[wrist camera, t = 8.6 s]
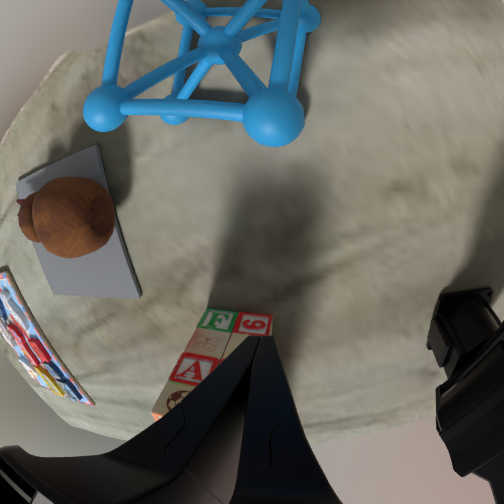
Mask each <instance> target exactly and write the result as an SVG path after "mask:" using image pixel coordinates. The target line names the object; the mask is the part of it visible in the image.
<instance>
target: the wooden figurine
mask: <svg viewBox="0 0 504 504" xmlns="http://www.w3.org/2000/svg"><path fill="white" fill-rule="evenodd" d="M17 203H18V204H20V205H21V207H20V210H19V213H18V216H19V218H18V219H19V226H20V228H21V230H22V232H23V234H24V235H25V236H26V237H27V238H28V239H29V240H31V241H33V242H36V243H42V245H43V246H44V247H45V249H46V250H47V251H48V252H50V253H52V254H54V255H56V256H59V257H62V258H70V259H71V258H77V257H81V256H84V255H87V254H90V253H93V252H95V251H97V250H98V249H100V248H101V247H103V246H104V245H106V244H107V242H108V241H109V239H110V238H111V236H112V234H113V231H114V227H115V207H114V204H113V201H112V198H111V196H110V194H109V193H108V191H107V189H106V188H105V187H103V186H102V185H101V184H99V183H98V182H96V181H95V180H93V179H90V178H85V177H71V176H69V177H59V178H55V179H53V180H51V181H48V182H47V183H45V184H44V185H43V186H42V187H41V188H40V190H39V191H37V192H34V193H32V194H30V195H28V196H27V197H26V199H18V200H17Z"/></svg>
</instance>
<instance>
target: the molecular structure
mask: <svg viewBox="0 0 504 504" xmlns="http://www.w3.org/2000/svg"><path fill="white" fill-rule="evenodd" d="M161 1H162V2H163V3H164V4H166V5H167V6H168V7H169V8H170V9H171V10H173V11H174V12H175V16H176V20H177V21H178V22H179V23H180V24H182V25H184V27H183V32H182V37H181V42H180V47H179V53H178V57H177V58H175V59H173V60H172V61H170V62H168V63H166V64H164V65H162V66H160V67H158V68H157V69H155V70H153V71H151V72H149V73H148V74H146V75H144V76H142V77H141V78H139V79H137V80H136V81H134V82H133V83H131V84H129V85H128V86H126V87H125V88H121V87H119V86H117V77H118V71H119V64H120V58H121V53H122V47H123V42H124V37H125V32H126V27H127V24H128V19H129V15H130V11H131V7H132V4H133V0H119V2H118V5H117V9H116V13H115V17H114V20H113V25H112V29H111V33H110V38H109V43H108V48H107V53H106V59H105V65H104V72H103V79H102V86H100V87H98V88H96V89H95V90H93V91H92V92H91V93H90V94H89V96H88V97H87V99H86V101H85V102H84V107H83V116H84V119H85V122H86V123H87V125H88V126H89V127H91V128H92V129H94V130H96V131H99V132H107V131H111V130H114V129H116V128H117V127H119V126H120V125H121V124H122V123H123V122H124V121H125V120H126V118H127V116H128V115H160V117H161V119H162V120H163V121H164V122H165V123H168V124H170V125H178V124H181V123H183V122H185V121H186V120H187V119H188V118H189V117H200V118H212V119H222V120H231V121H239V122H243V125H244V128H245V130H246V132H247V133H248V135H249V136H250V137H251V138H253V139H254V140H255V141H256V142H258V143H260V144H261V145H265V146H269V147H279V146H284V145H287V144H288V143H290V142H292V141H294V140H295V139H296V138H297V137H298V136H299V134H300V133H301V132H302V130H303V128H304V125H305V119H304V110H303V106H302V105H301V103H300V102H299V100H298V99H297V98H296V96H297V90H298V84H299V78H300V72H301V65H302V59H303V53H304V46H305V40H306V33H308V32H311V31H314V30H315V29H317V28H318V26H319V25H320V23H321V15H320V13H319V11H318V10H317V9H316V8H315V7H314V6H313V5H310V4H309V0H283V3H282V9H281V10H275V9H263V8H261V7H262V6H263V5H264V4H265V3H266V2H267V1H268V0H247V2H246V3H245V4H244V5H243V6H242V7H213V8H207V6H206V4H205V3H204V2H202V1H200V0H186V1H185V0H161ZM207 16H234V17H233V18H232V19H231V20H230V22H229V23H228V24H227V25H226V27H225V26H216V27H212V26H211V25H210V24H209V23H208V22H207V21H206V20H205V19H206V18H207ZM252 17H260V18H272V19H276V20H272V21H269V22H265V23H262V24H259V25H256V26H253V27H250V28H247V29H244V30H241V29H242V28H243V27H244V25H245V24H246V23H247V22H248V21H249V20H250V19H251V18H252ZM193 29H194V30H195V31H196V32H197V33H198V34H199V35H200V38H199V41H198V46H197V47H198V48H196V49H194V50H192V51H190V52H189V50H190V44H191V39H192V34H193ZM240 30H241V31H240ZM276 30H278V32H277V38H276V44H275V50H274V56H273V62H272V68H271V75H270V81H269V87H268V88H267V87H266V86H265V85H264V84H263V83H262V82H261V80H260V79H259V78H258V77H257V76H256V75H255V73H254V72H253V71H252V70H251V69H250V68H249V67H248V65H247V64H246V63H245V62H244V61H243V60H242V59H241V58H240V57H239V55H238V54H239V53H240V51H241V48H242V42H245V41H247V40H250V39H253V38H255V37H258V36H261V35H264V34H267V33H270V32H273V31H276ZM200 60H201V61H200ZM198 61H200V62H199V63H198V65H197V66H196V68H195V69H194V71H193V72H192V74H191V75H190V77H189V78H188V80H187V82H186V83H185V85H184V80H185V74H186V67H188V66H190V65H192V64H194V63H196V62H198ZM213 64H218V65H221V64H226V66H227V67H228V68H229V70H230V71H231V73H232V74H233V75H234V77H235V78H236V80H237V81H238V82H239V84H240V85H241V87H242V88H243V90H244V91H245V92H246V94H247V95H248V97H249V99H248V101H247V102H246V104H241V103H232V102H221V101H208V100H191V99H188V98H189V97H190V95H191V94H192V92H193V91H194V89H195V88H196V87H197V85H198V84H199V82H200V81H201V80H202V78H203V77H204V75H205V74H206V73H207V71H208V70H209V69H210V67H211V66H212V65H213ZM173 74H175V77H174V84H173V91H172V94H170V95H168V96H167V97H165V98H164V99H133V98H134V97H136V96H137V95H139V94H141V93H142V92H144V91H145V90H147V89H149V88H150V87H152V86H154V85H155V84H157V83H159V82H161V81H162V80H164V79H166V78H168V77H169V76H171V75H173Z"/></svg>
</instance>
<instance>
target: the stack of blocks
mask: <svg viewBox="0 0 504 504" xmlns="http://www.w3.org/2000/svg"><path fill="white" fill-rule="evenodd" d="M272 326H273V316H272V315H263V314H254V313H245V312H234V311H226V310H219V309H212V308H207V309H206V311H205V312H204V314H203V316H202V317H201V319H200V321H199V323H198V324H197V326H196V330H195V332H194V334H193V336H192V337H191V339H190V341H189V343H188V345H187V347H186V348H185V351H184V352H183V353H182V354H181V356H180V358H179V359H178V361H177V364H176V365H175V367H174V369H173V371H172V373H171V374H170V376H169V379H168V382H167V383H166V385H165V387H164V389H163V390H162V392H161V394H160V396H159V398H158V400H157V401H156V403H155V405H154V407H153V409H152V411H151V413H152V415H153V417H154V419H155V421H157V420H159V419H160V418H161V417H162V416H164V415H165V414H166V413H167V412H168V411H169V410H171V409H172V408H173V407H174V406H175V405H176V404H177V403H178V402H180V403H181V400H182V399H183V398H184V397H185V396H186V395H187V394H188V393H189V392H191V391H192V390H193V389H194V388H195V387H196V386H197V385H198V384H199V383H200V382H201V381H202V380H203V379H204V378H205V377H207V376H208V375H209V374H210V373H211V372H212V371H213V370H214V369H215V368H216V367H217V366H218V365H219V364H220V363H221V362H222V361H223V360H224V359H225V358H226V357H227V356H228V355H229V354H230V353H231V352H232V351H233V350H234V349H235V348H236V347H237V346H238V345H239V344H240V343H241V342H242V341H243V340H244V339H245V338H246V337H247V336H249V335H260V336H261V337H262V336H263V335H272Z"/></svg>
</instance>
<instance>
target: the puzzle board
mask: <svg viewBox="0 0 504 504" xmlns="http://www.w3.org/2000/svg"><path fill="white" fill-rule="evenodd" d="M0 334H1V336H2V337H3V339H5V340H6V341H7V342H8V343H9V344H10V345H11V346H12V347H13V349H14V350H15V352H16V353H17V355H18V356H19V362H20V363H21V365H22V366H23V367H24V369H25V370H26V371H27V373H28V374H29V375H30V376H31V377H32V378H33V379H34V378H35V379H36V380H37V381H38V382H39V384H40V385H41V386H43V387H45V388H47V389H49V390H52V391H53V392H54V393H55V394H57V395H60V396H66V397H68V398H70V399H71V400H72V401H76V402H77V401H79V402H82V403H85V404H87V405H90V406H93V407H94V406H95V402H94V401H93V400H92V399H91V398H90V397H89V395H88V394H87V393H86V392H85V391H84V389H83V388H82V387H81V386H80V384H79V383H78V382H77V381H76V379H75V378H74V377H73V375H72V374H71V373H70V371H69V370H68V369H67V367H66V366H65V365H64V363H63V362H62V360H61V359H60V358H59V356H58V355H57V353H56V352H55V350H54V349H53V347H52V346H51V344H50V343H49V341H48V340H47V338H46V337H45V335H44V334H43V332H42V330H41V329H40V327H39V325H38V324H37V322H36V320H35V319H34V317H33V315H32V313H31V312H30V310H29V308H28V306H27V304H26V303H25V301H24V299H23V297H22V295H21V293H20V291H19V289H18V287H17V285H16V283H15V281H14V279H13V277H12V275H11V272H10V271H9V270H6V271H3V272H0Z"/></svg>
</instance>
